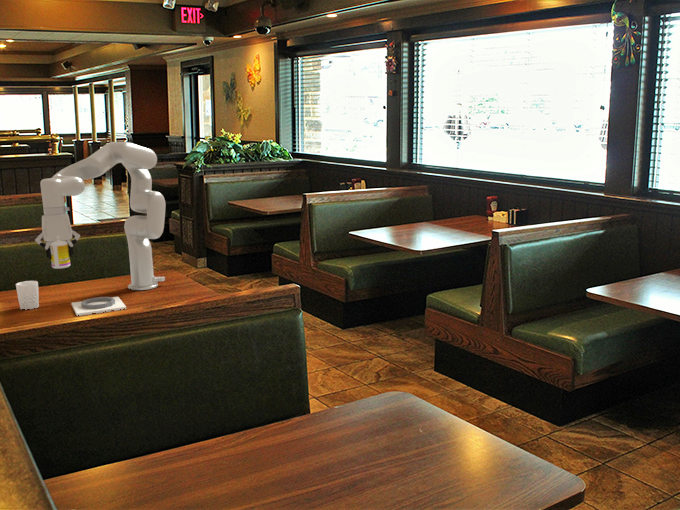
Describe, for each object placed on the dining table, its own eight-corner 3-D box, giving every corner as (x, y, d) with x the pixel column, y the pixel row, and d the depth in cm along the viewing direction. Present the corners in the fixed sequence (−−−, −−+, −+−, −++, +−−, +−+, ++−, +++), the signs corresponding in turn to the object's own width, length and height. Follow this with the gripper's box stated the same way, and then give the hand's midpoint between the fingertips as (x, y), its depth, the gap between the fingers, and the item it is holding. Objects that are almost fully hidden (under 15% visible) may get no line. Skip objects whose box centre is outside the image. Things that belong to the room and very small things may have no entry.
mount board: (118, 298, 273) (117, 293, 272) (126, 309, 257) (125, 303, 257) (71, 305, 265) (71, 299, 264) (76, 316, 249) (76, 309, 249)
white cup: (23, 305, 266) (20, 281, 264) (43, 304, 266) (40, 280, 265) (15, 310, 258) (12, 285, 256) (36, 310, 259) (33, 285, 257)
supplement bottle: (74, 265, 256) (70, 232, 254) (65, 269, 250) (61, 235, 247) (57, 265, 257) (53, 232, 255) (48, 269, 251) (44, 235, 248)
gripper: (78, 208, 256) (83, 253, 260) (29, 212, 249) (35, 258, 252) (80, 210, 250) (85, 256, 253) (29, 214, 242) (35, 262, 246)
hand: (60, 257), depth 253 cm, fingers closed on supplement bottle, 6 cm apart
